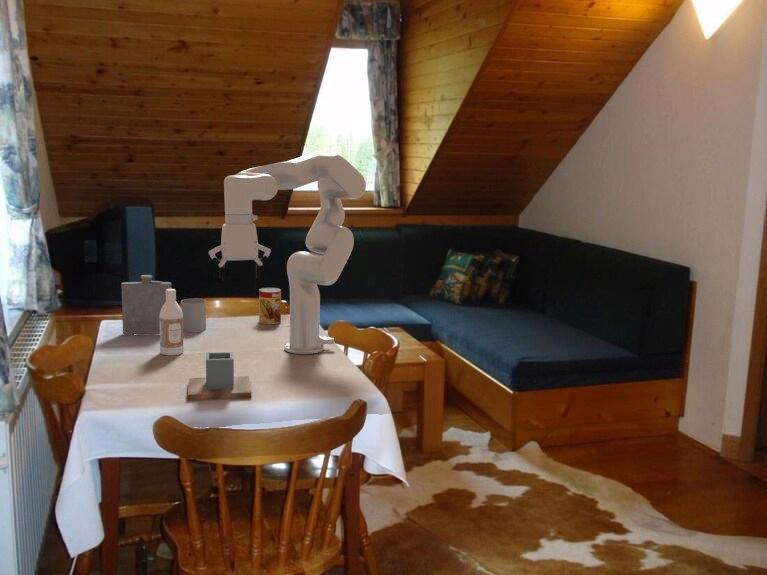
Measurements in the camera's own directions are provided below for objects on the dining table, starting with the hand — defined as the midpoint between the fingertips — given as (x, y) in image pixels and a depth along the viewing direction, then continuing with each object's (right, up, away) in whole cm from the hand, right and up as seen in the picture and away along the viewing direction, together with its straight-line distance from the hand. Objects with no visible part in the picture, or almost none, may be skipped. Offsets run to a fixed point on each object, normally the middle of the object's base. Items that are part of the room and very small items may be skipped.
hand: (240, 279), depth 218 cm
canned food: (-1, -15, +63) cm, 65 cm away
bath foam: (-25, -23, +18) cm, 38 cm away
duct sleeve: (-3, -28, -15) cm, 32 cm away
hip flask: (-39, -18, +40) cm, 59 cm away
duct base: (-3, -30, -15) cm, 33 cm away
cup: (-25, -17, +48) cm, 57 cm away
